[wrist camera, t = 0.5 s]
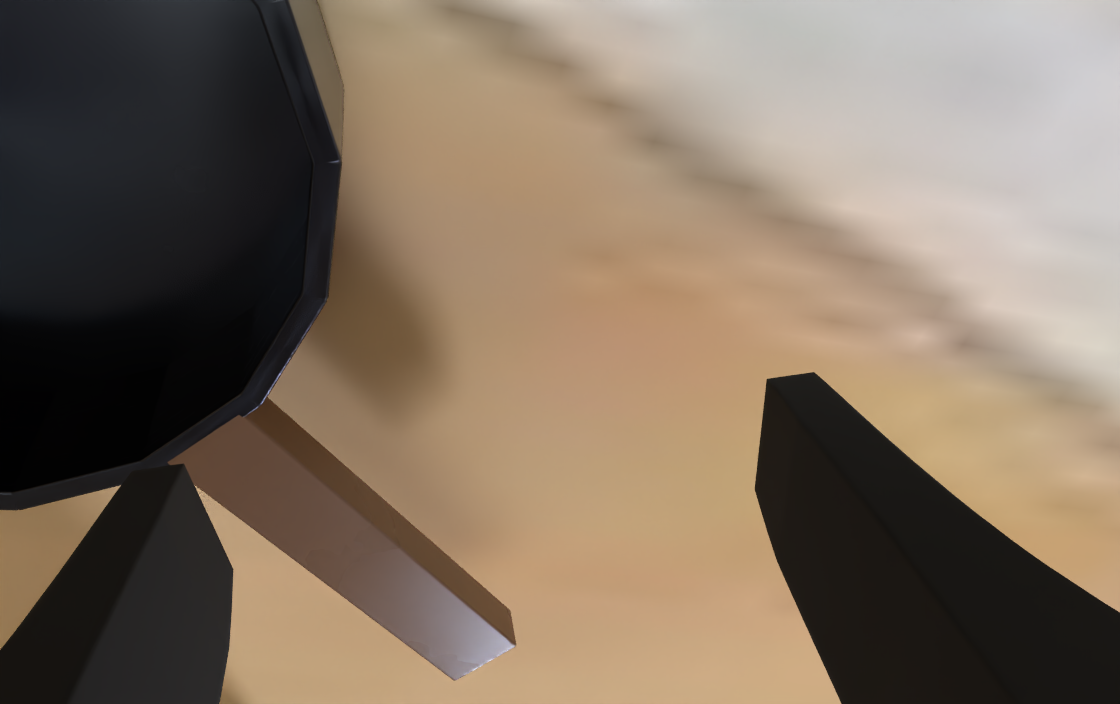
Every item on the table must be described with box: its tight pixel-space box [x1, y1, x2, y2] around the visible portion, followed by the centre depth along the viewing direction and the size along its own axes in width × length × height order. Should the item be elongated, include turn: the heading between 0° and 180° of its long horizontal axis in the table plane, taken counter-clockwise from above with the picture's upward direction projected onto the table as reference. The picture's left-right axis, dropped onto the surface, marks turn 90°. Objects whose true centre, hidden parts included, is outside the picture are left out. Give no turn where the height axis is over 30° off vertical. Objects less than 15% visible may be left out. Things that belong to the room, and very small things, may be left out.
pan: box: [0, 0, 516, 680], centre depth 19 cm, size 14×24×4 cm, turn 32°
